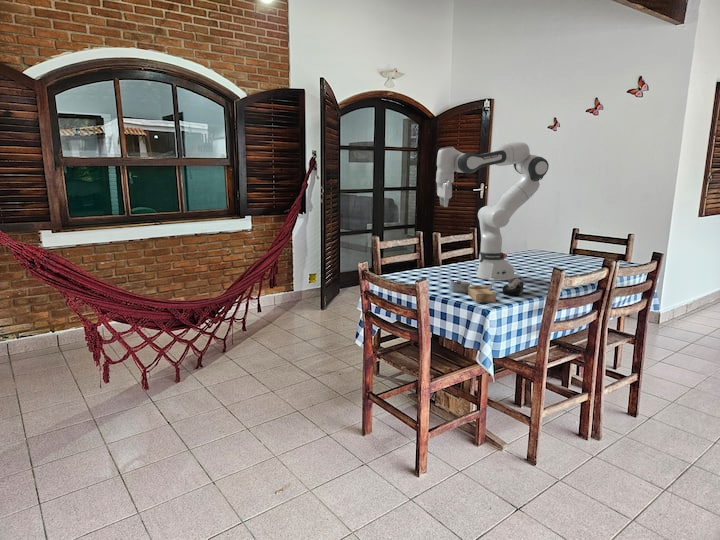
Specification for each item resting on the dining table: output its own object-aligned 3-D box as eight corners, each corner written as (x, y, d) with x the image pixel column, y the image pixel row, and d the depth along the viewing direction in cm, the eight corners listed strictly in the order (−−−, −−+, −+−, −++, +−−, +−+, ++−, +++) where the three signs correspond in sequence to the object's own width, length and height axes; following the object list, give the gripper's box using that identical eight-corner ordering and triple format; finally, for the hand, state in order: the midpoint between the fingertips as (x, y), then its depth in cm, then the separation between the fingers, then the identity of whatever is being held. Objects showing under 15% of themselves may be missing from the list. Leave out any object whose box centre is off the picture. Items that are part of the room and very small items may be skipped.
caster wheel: (506, 301, 235) (499, 293, 244) (530, 296, 235) (521, 288, 245) (505, 288, 233) (498, 280, 242) (529, 283, 233) (520, 276, 242)
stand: (486, 294, 238) (487, 286, 237) (495, 301, 224) (496, 293, 223) (467, 294, 237) (468, 286, 237) (475, 302, 224) (476, 293, 223)
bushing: (489, 291, 244) (490, 285, 243) (492, 293, 240) (492, 287, 239) (481, 291, 244) (482, 285, 243) (484, 293, 240) (484, 287, 239)
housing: (466, 290, 246) (467, 279, 245) (469, 292, 241) (469, 282, 240) (450, 290, 246) (451, 280, 245) (453, 292, 241) (453, 282, 240)
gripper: (455, 179, 244) (454, 207, 247) (447, 178, 264) (446, 204, 267) (442, 179, 244) (441, 207, 246) (435, 178, 264) (434, 204, 266)
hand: (443, 206), depth 257 cm, fingers open, 8 cm apart
